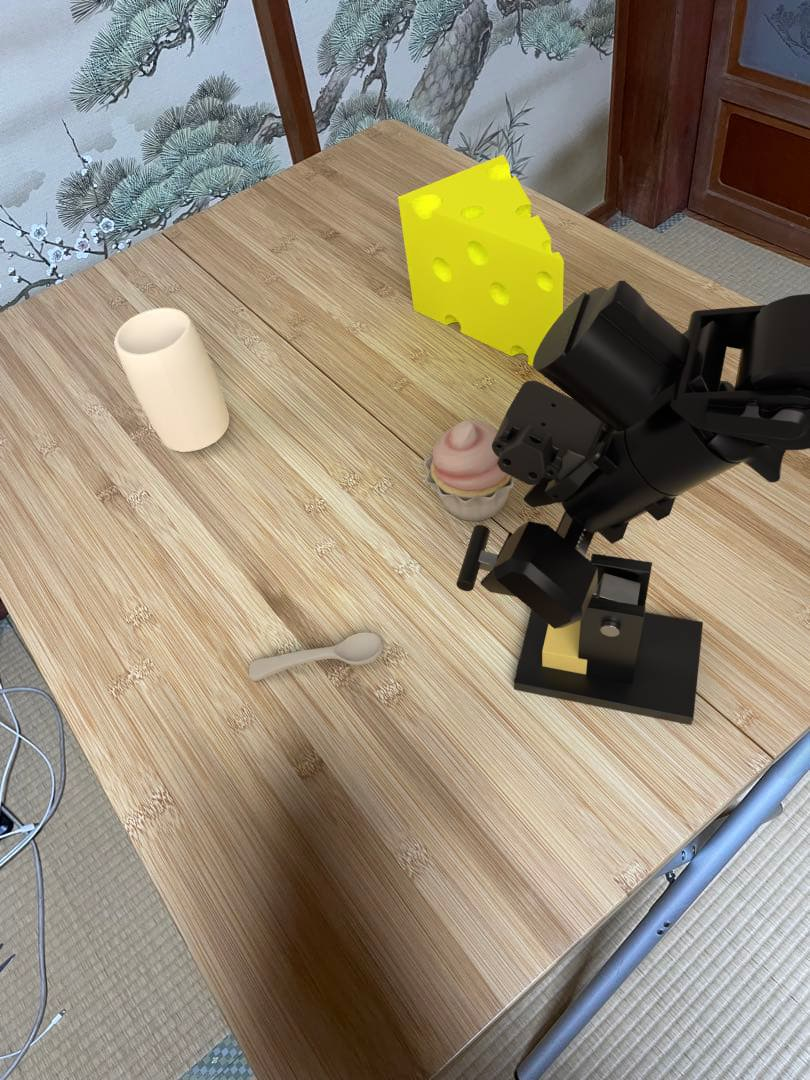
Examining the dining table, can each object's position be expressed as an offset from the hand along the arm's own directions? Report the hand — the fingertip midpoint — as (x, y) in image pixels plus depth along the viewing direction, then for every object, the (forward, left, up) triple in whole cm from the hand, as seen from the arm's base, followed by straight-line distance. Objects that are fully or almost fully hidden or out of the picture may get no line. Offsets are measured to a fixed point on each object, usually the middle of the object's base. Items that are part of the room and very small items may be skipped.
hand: (507, 542), depth 64 cm
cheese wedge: (+17, -39, -12) cm, 45 cm away
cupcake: (+8, -12, -12) cm, 19 cm away
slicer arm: (-4, +1, -2) cm, 4 cm away
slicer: (-9, +1, -11) cm, 14 cm away
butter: (-5, +1, -10) cm, 12 cm away
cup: (+41, -11, -12) cm, 44 cm away
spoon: (+14, +10, -12) cm, 21 cm away
